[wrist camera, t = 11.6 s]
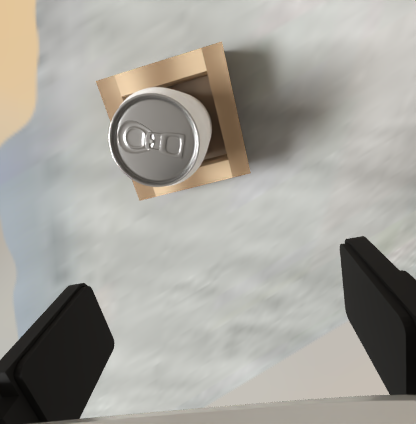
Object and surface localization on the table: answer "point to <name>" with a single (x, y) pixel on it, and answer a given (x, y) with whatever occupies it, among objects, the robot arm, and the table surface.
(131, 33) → the table surface
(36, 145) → the table surface
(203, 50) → the socket block
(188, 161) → the can
